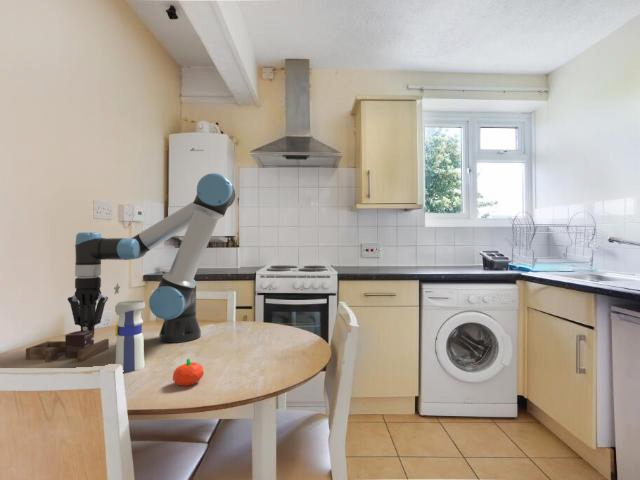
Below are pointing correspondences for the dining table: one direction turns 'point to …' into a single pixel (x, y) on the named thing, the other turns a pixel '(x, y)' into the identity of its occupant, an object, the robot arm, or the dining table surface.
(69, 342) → the box
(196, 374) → the tomato
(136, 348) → the water bottle
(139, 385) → the dining table surface
